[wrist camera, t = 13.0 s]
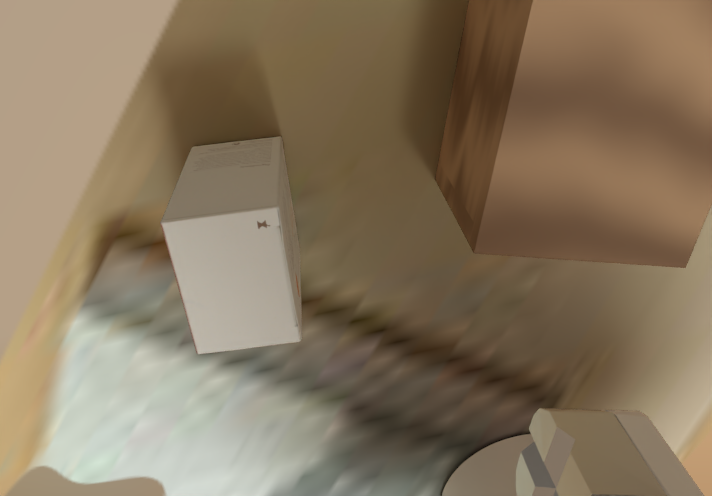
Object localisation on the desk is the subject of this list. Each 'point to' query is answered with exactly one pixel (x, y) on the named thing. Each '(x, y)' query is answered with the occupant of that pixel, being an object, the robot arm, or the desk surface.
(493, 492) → the robot arm
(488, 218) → the shelf
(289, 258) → the small box
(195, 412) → the desk surface
